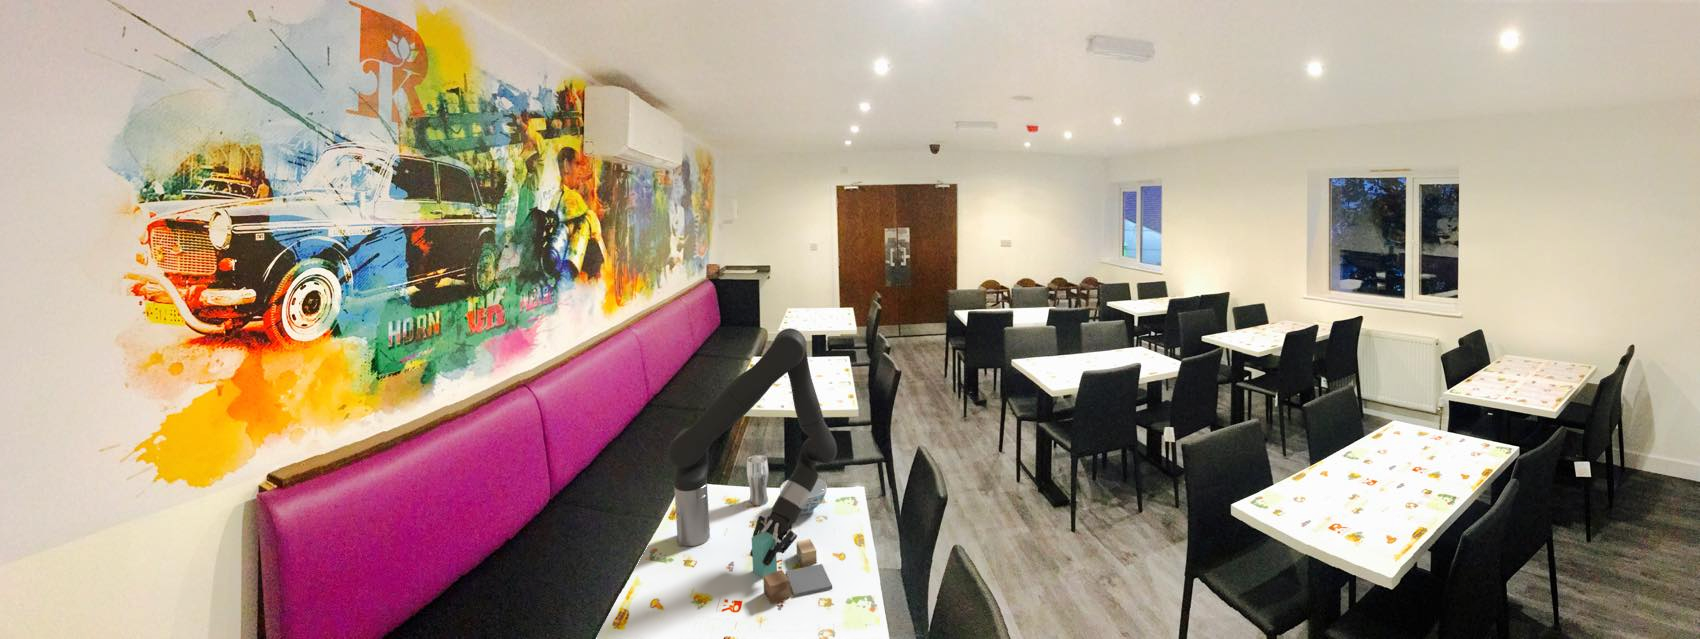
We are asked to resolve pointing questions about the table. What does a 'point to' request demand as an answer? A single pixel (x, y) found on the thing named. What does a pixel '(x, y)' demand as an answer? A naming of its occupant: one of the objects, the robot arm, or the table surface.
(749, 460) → the beer glass
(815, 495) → the chinaware
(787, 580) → the walnut cube
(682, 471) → the robot arm
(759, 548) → the teal block
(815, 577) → the coaster
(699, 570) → the table surface
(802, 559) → the oak block
